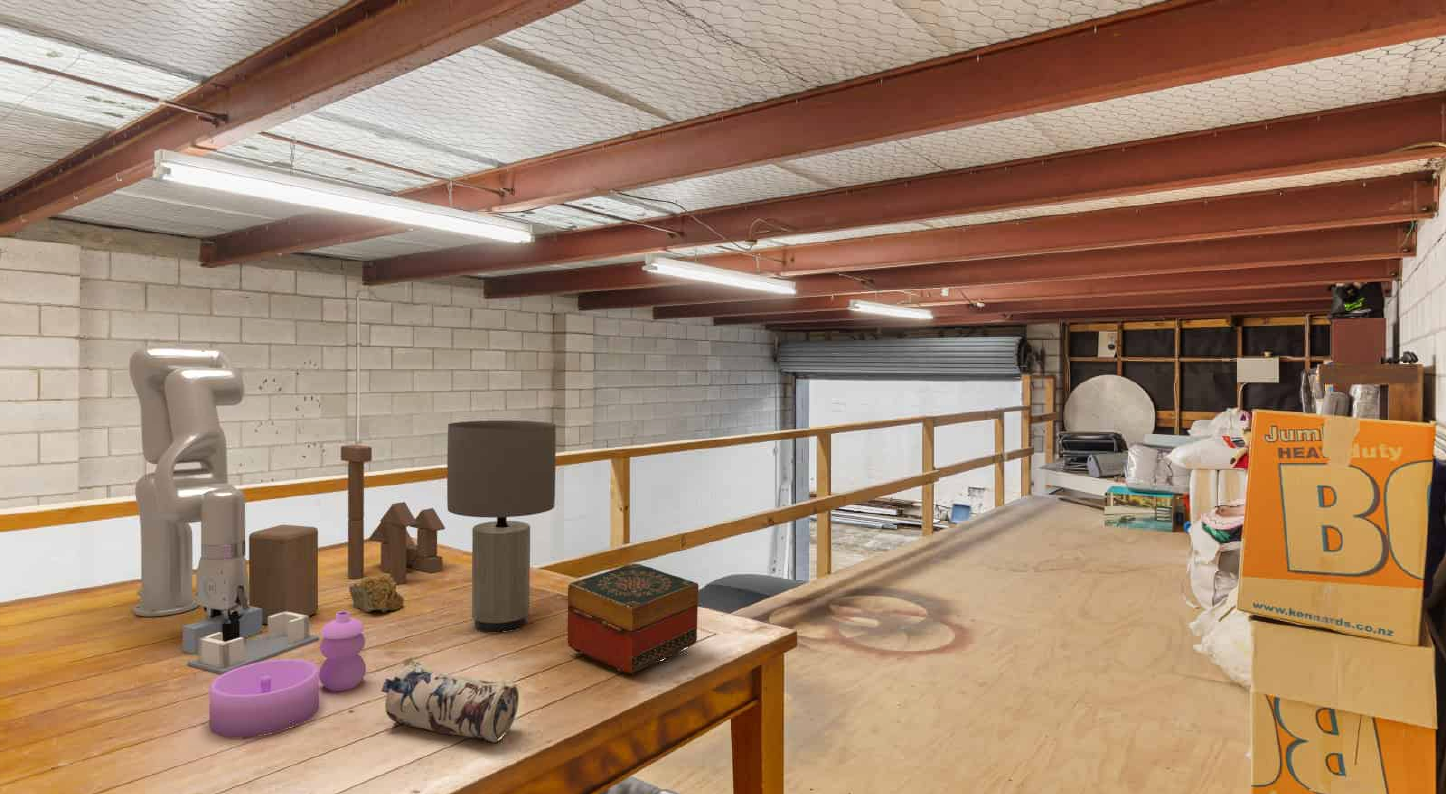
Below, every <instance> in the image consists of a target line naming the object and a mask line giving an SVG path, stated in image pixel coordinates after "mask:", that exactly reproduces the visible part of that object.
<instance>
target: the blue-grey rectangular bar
mask: <svg viewBox="0 0 1446 794" xmlns="http://www.w3.org/2000/svg"><path fill="white" fill-rule="evenodd" d="M248 607H249V606H248ZM233 612H234V610H232V611H230V615H231V614H232V613H233ZM222 624H225V620H224V613H223V615H220V616H216V617H213V618H209V619H206V618H205V619H202V620H199V621H196V622H192V623H189V624H186V625H183V626H182V652H184V653H187V654H191V655H198V639H199V638H202V637H205V636H209V635H212V634H215V633H218V632H221V633H222ZM260 633H263V623H262V608H257V607H252V606H250V607H249V611H248V612H246V613H245V614H243V616H242V619H241V620H240V637H242V638H244V639H245V638H248V637H251V636H255V635H257V634H260Z"/></svg>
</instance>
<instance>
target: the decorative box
mask: <svg viewBox="0 0 1446 794" xmlns="http://www.w3.org/2000/svg"><path fill="white" fill-rule="evenodd" d="M699 589H700V588H699V583H697V582H695V581H692V580H688V579H685V578H682V577H681V576H676V575H672V574H671V573H667V572H664V571H662V570H658V569H656V568H653V567H650V566H646V565H643V564H640V563H631V564H628V565H625V566H620V567H618V568H615V569H611V570H608V571H605V572H602V573H598V574H595V575H592V576H589V577H586V578H582V579H580V580H579V579H578V580H575V581H572V582H570V583H569V584H568V588H567V645H568V647H569V648H571V649H572V650H573V651H574V652H576V653H579V652H582V653H581V654H583V653H584V654H583V655H586V656H588V657H589V658H590V659H594V660H595V661H598V662H600V663H603V662H604V664H607V665H609V666H610V667H612V668H613V667H614V668H613V669H615V668H616V669H619V670H620V671H622V672H621V673H624V672H626V673H625V674H631V675H632V674H633V675H634V674H635V673H637V672H639V671H641V670H642V669H643V668H647V667H646V666H648V667H651V666H653V665H652V664H654V663H656V662H657V663H659V662H658V661H660V660H662V659H664V658H666V659H667V657H668V658H669V657H671V655H672V656H675V655H677V654H679V653H680V652H679V651H681V650H683V649H684V648H686V647H688V648H691V647H692V646H693V645H695V644H696V643H697V640H698V611H699V610H698V609H699V608H698V604H699V592H700V591H699ZM683 651H684V650H683ZM678 652H679V653H678ZM681 652H682V651H681ZM674 654H675V655H674ZM660 662H661V661H660ZM657 663H656V664H657ZM650 665H651V666H650ZM654 665H655V664H654ZM616 669H615V670H616ZM620 671H619V672H620Z"/></svg>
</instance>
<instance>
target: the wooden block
mask: <svg viewBox="0 0 1446 794" xmlns="http://www.w3.org/2000/svg"><path fill="white" fill-rule="evenodd" d="M248 583H249V597H248V607H250V606H252V607H257V608H262V625H263V624H264V625H268V617H269V616H272V615H275V614H278V613H282V612H285V611H287V612H291V613H296V614H301V615H306V616H309V617H310V616H313V615H314V614H317V613H318V610H319V530H318V527H315V526H307V525H306V526H305V525H293V524H291V525H290V524H280V525H275V526H272V527H269V528H263V529H260V530H257V531H253V532H251V533H249V536H248Z"/></svg>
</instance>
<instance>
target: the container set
mask: <svg viewBox="0 0 1446 794" xmlns="http://www.w3.org/2000/svg"><path fill="white" fill-rule="evenodd" d="M350 613H351V612H350V611H348V610H342V611H341V610H340V611H337V612H336V613H335V619H333V620H331V621H329V622H327V623H326V624H325V625H324V626H323V627H322V629H321V634H322V636H323V638H322V640H321V642H320V644H319V650H320V653H321V654H322V656H323V657H325V658H326V659H325V660H324V662H323V663H322V664H321V667H319V666H318V665H317V664H316V663H315V662H312V661H309V660H305V659H295V658H292V659H291V658H283V659H282V658H281V659H271V660H262V661H260V662H257V663H253V664H249V665H245V666H242V667H239V668H235V669H233V670H230V671H228V672H226V673H224V674H219V675H218V676H217V677H216V678H214V679H213V680H212V681H211V683H210V685H209V686H208V687H209V688H208V689H209V690H208V691H209V696H208V697H209V707H208V708H209V729H210V731H211V732H213V734H215V735H218V736H220V735H221V736H220V737H225V738H233V737H241V738H243V739H244V737H246V738H254V736H255V737H260V736H259V735H262V736H265V735H264V734H268V735H270V734H269V733H272V734H275V733H274V732H276V733H279V732H278V731H280V732H282V731H281V730H283V731H285V730H284V729H286V728H289V727H292V726H294V727H296V726H295V725H297V724H299V725H301V724H303V723H305V722H306V721H308V720H310V719H311V718H312V717H313V716H315V715H316V713H317V712H318V710H319V708H320V684H322V686H323V687H325V689H326V690H328V691H331V692H342V691H349V690H352V689H353V688H356V687H357V686H358V685H359V683H360V682H361V681H363V679H364V678H365V675H366V672H367V667H366V666H367V665H366V662H365V660H364V658H363V657H362V656H361V655H360V653H361V652H362V651H363V650H364V648H365V645H366V638H365V636H364V634H363V633H362V632H363V631H364V628H365V626H364V624H363V621H361V620H359V619H357V618H355V617H350V615H351V614H350ZM310 717H311V718H310ZM304 721H305V722H304ZM300 723H301V724H300ZM297 726H298V725H297ZM292 728H293V727H292ZM289 729H290V728H289ZM286 730H287V729H286Z"/></svg>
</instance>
